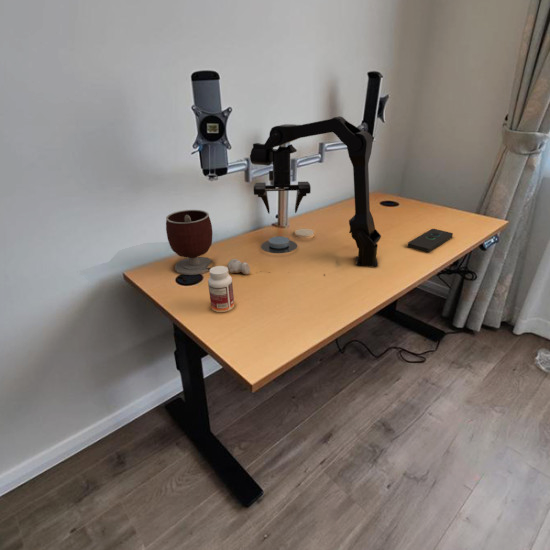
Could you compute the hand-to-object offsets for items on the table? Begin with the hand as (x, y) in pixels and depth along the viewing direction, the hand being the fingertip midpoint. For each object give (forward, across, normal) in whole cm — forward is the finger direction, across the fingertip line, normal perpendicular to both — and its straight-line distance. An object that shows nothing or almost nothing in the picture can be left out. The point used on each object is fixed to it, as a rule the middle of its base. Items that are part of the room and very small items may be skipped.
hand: (282, 212), depth 127 cm
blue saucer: (+12, +1, +2) cm, 12 cm away
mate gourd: (+13, +29, +15) cm, 35 cm away
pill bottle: (+13, +17, +40) cm, 45 cm away
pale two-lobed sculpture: (+13, +14, +20) cm, 28 cm away
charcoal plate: (+13, +1, +2) cm, 13 cm away
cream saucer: (+13, -8, -9) cm, 18 cm away
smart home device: (+13, -54, -2) cm, 55 cm away
